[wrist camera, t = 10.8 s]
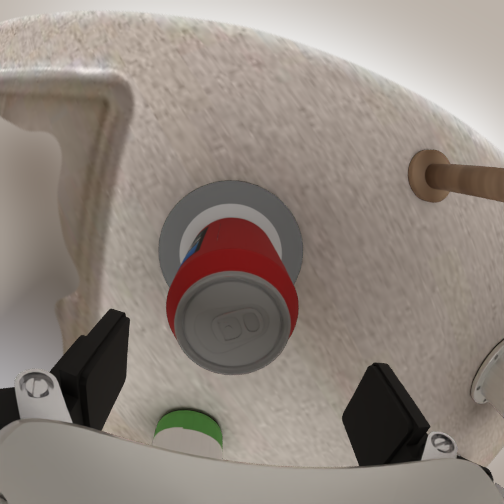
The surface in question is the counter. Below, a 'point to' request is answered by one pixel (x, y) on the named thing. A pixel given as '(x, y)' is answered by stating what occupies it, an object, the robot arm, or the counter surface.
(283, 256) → the pad
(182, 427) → the wine bottle
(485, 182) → the stand post
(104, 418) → the robot arm
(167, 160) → the counter surface
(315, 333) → the counter surface
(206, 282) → the beverage can
